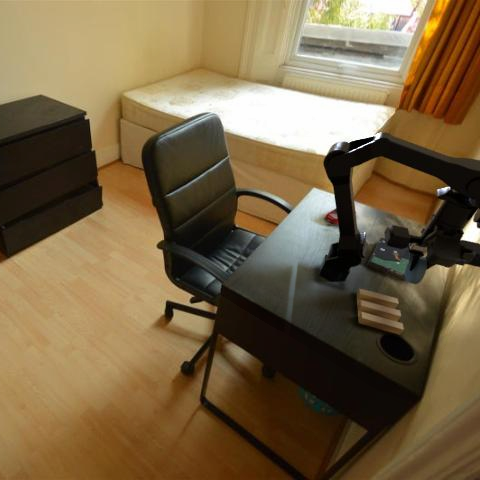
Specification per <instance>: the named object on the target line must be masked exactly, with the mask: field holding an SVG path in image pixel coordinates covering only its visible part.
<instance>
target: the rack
mask: <svg viewBox="0 0 480 480" xmlns="http://www.w3.org/2000/svg"><path fill="white" fill-rule="evenodd" d="M356 305H357V316H358V319H357V320H358V324H361V325H365V326H368V327H371V328H375V329H377V330H382V331H385V332H388V333H392V334H394V335H395V334H396V335H398V336H399V335H401V334H402V333H403V331H404V330H405V328H404V323H402V322H399V320H400V319H401V317H402V313H401V310H399V309H397V308H398V306H399V298H397V297H393V296H389V295H385V294H381V293H378V292H376V291H375V292H374V291H370V290H367V289H362V288H359V289H358V291H357V292H356Z"/></svg>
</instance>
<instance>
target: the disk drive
mask: <svg viewBox="0 0 480 480" xmlns="http://www.w3.org/2000/svg"><path fill="white" fill-rule="evenodd" d="M409 260H410V253H409V252H408V249H407V248H404V249H398V248H394V247H389V246H388V245H386V240H385V237H380V238H379V240H378V242H377V243H376V246H375V248H374V251H373V252H372V255H371V256H370V258H369V260H368V262H367V264H366V268H371V269H375V270H378V271H380V272H383V273H385V274H387V275H390V276H392V277H394V278H396V279H399V280H402V281H404V282H407V281H406V280H405V270H406V267H407V264H408V262H409Z"/></svg>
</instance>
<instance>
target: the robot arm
mask: <svg viewBox="0 0 480 480" xmlns="http://www.w3.org/2000/svg"><path fill="white" fill-rule="evenodd" d="M380 157H383V158H385V159H388V160H390V161H392V162H395V163H398V164H400V165H403V166H405V167H408V168H410V169H413V170H417V171H418V172H421V173H424V174H427V175H429V176H432V177H434V178H437V179H438V180H440V181H442V182H443V183H444V184H445V185H446V186H447V187H442V188H438V189H436V198H437V200H441V201H442V203H441V204H440V205H439V207H438V209H437V211H436V212H434V213H432V214H431V215H430V217H429V219H430V221H429V223H428V224H427V226H426V227H425V228H422V229H421V230H420V234H421V235H420V236H419V235H414V234H410V231H409V228H408V227H405V226H400V225H393V224H391V225H389V226H387V227H386V228H385V230H384V239H385V240H386V245H388V246H389V247H394V248H398V249H404V248H407V249H408V252H409V253H410V262H409V271H412V270H413V269H414V268H415V266H416V264H417V262H418V261H419V259H420V257H425V258H426V260H427V269H426V271H427V270H429V269H431V268H432V267H433V268H434V266H441V267H444V268H446V269H450V268H453V267H454V266H455V265H456V266H457V265H458V266H461V267H463V266H465V265H468V266H471V267H472V266H473V267H477V268H480V242H474V241H469V240H465V239H462V238H463V236H464V234H465V232H464V229H465V227H466V226H467V225H468V224H469V222H470V220H471V219H472V218H473V219H472V221H473V223H476V228H477V229H480V159H475V158H470V157H456V156H449V155H446V154H444V153H441V152H439V151H435V150H433V149H430V148H428V147H425V146H421V145H419V144H415V143H413V142H412V141H408V140H405V139H403V138H400V137H397V136H394V135H392V134H391V133H390V132H379V133H377V134H373V135H370V136H365V137H359V138H356V139H353V140H349V141H346V140H345V141H337V142H335V143H334V144H332V145H331V146H330V148H329V149H328V151H327V153H326V155H325V156H324V158H323V161H322V162H323V163H322V165H323V168H324V171H325V174H326V177H327V179H328V180H329V182H330V184H331V185H332V187H333V195H334V203H335V209H336V211H337V218H338V225H337V226H338V233H339V238H338V241H336V242H333V243H331V244H330V246H329V250H328V252H327V254H325V255H324V256H323V260H322V261H321V264H320V266H319V268H318V269H319V270H318V276H319V277H322V278H323V279H324V280H326V281H328V282H332V283H337V282H346V281H347V278H348V276H349V275H350V272H351V269H352V268H356V267H358V266H360V265H361V264H362V262H363V259H366V255H367V251H368V242H367V240H366V238H367V232H360V230H359V229H358V223H357V211H356V204H355V195H354V186H353V185H354V184H353V175H354V168H356V167H358V166H360V165H364V164H365V163H367V162H369V161H371V160H374V159H377V158H380ZM355 211H356V212H355ZM424 248H426V256H425V254H424V251H423V250H424Z"/></svg>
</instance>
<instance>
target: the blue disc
mask: <svg viewBox="0 0 480 480" xmlns="http://www.w3.org/2000/svg"><path fill="white" fill-rule="evenodd" d="M425 257H426V256H423V257H420V259H419V261H418V262H417V264H416V266H415V268H414V269H413V270H412V271H409V262H410V260H409V262H408V264H407V267H406V270H405V280H406V281H405V282H406V283H409V284H412V285H418V284H420V283H421V282H422V280H423V279H424V277H425V276H426V272H427V270H428V269H427V260H426V258H425ZM426 269H427V270H426Z"/></svg>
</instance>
